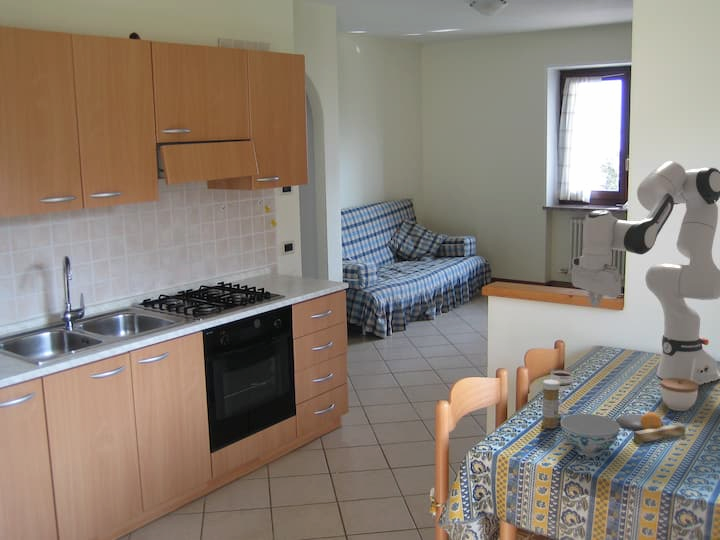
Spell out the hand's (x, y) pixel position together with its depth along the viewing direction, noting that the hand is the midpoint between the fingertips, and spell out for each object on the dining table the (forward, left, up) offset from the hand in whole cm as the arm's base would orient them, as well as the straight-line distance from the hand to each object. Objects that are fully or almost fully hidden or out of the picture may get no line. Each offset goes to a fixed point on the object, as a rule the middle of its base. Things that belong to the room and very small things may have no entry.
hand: (594, 305), depth 245 cm
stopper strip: (+6, +37, -29) cm, 48 cm away
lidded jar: (-16, +21, -29) cm, 40 cm away
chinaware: (+30, +38, -29) cm, 57 cm away
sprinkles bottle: (+29, +19, -29) cm, 45 cm away
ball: (+5, +33, -26) cm, 43 cm away
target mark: (+4, +27, -29) cm, 40 cm away
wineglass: (+19, +10, -29) cm, 36 cm away
